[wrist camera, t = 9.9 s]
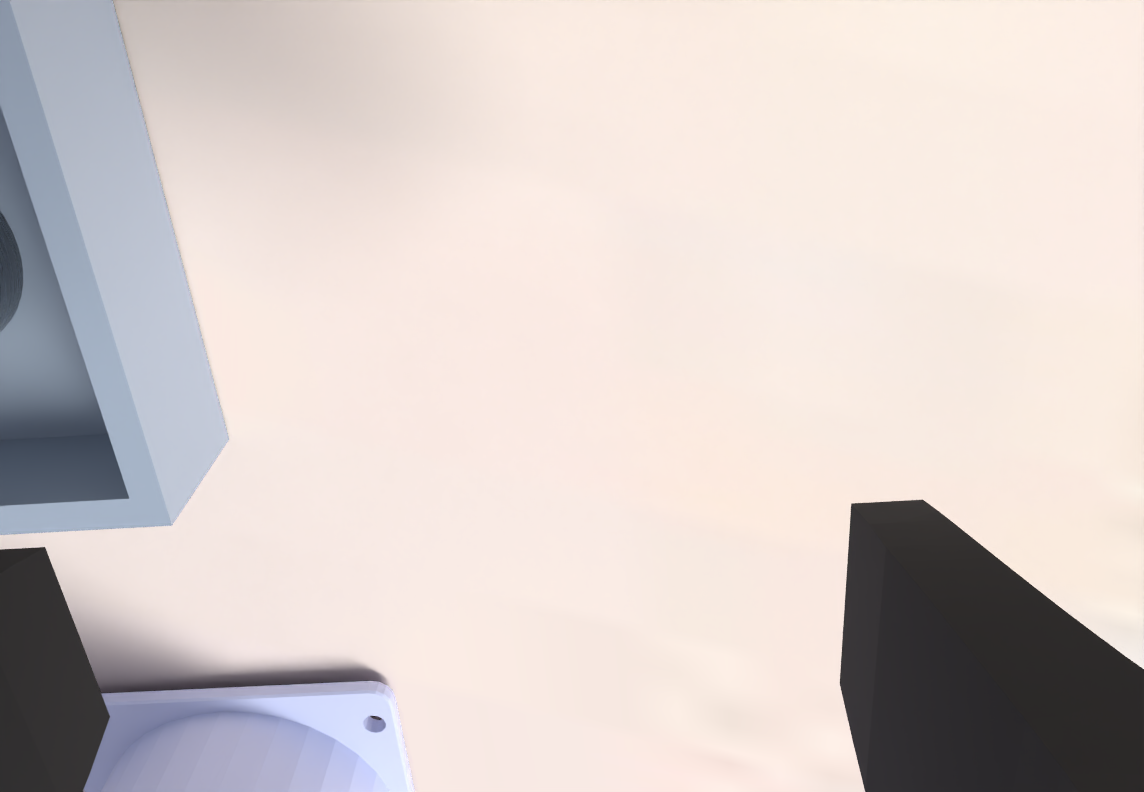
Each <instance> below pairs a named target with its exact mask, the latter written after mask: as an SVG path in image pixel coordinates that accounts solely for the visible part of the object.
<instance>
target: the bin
mask: <svg viewBox="0 0 1144 792" xmlns="http://www.w3.org/2000/svg"><path fill="white" fill-rule="evenodd" d="M0 211H1V212H2V214H3V215H4V217H5V219H6V220H7V222H8V224H9V226H10V228H11V230H12V232H13V234H14V237H15V239H16V242H17V244H18V248H19V251H20V255H21V259H22V266H23V289H22V295H21V299H20V302H19V305H18V308H17V310H16V312H15V314H14V316H13V318H12V319H11V321H10V322H9V323H8V325H7V326H6V327H5V328H4V329H3V330H2V331H1V332H0V535H6V534H25V533H43V532H61V531H79V530H98V529H116V528H134V527H152V526H171V525H173V523H174V522H175V520H176V519H177V517H178V516H179V514H180V513H181V511H182V510H183V508H184V507H185V505H186V504H187V502H188V501H189V499H190V498H191V496H192V495H193V493H194V492H195V490H196V489H197V487H198V485H199V484H200V482H201V481H202V479H203V478H204V476H205V475H206V473H207V472H208V470H209V469H210V467H211V466H212V464H213V463H214V461H215V460H216V458H217V457H218V455H219V454H220V452H221V451H222V449H223V448H224V446H225V445H226V443H227V442H228V440H229V437H228V433H227V429H226V425H225V422H224V418H223V414H222V410H221V407H220V403H219V399H218V395H217V392H216V388H215V384H214V380H213V376H212V373H211V369H210V365H209V361H208V358H207V354H206V350H205V346H204V343H203V339H202V335H201V331H200V328H199V324H198V320H197V316H196V312H195V309H194V305H193V301H192V297H191V294H190V290H189V286H188V282H187V279H186V275H185V271H184V267H183V263H182V260H181V256H180V252H179V248H178V245H177V241H176V237H175V233H174V230H173V226H172V222H171V218H170V215H169V211H168V207H167V203H166V199H165V196H164V192H163V188H162V184H161V181H160V177H159V173H158V169H157V166H156V162H155V158H154V154H153V150H152V147H151V143H150V139H149V135H148V132H147V128H146V124H145V120H144V117H143V113H142V109H141V105H140V102H139V98H138V94H137V90H136V86H135V83H134V79H133V75H132V71H131V68H130V64H129V60H128V56H127V53H126V49H125V45H124V41H123V37H122V34H121V30H120V26H119V22H118V19H117V15H116V11H115V7H114V4H113V0H0Z"/></svg>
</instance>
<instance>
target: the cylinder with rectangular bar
mask: <svg viewBox="0 0 1144 792" xmlns="http://www.w3.org/2000/svg"><path fill="white" fill-rule="evenodd" d="M22 289H23V266H22V259H21V255H20V251H19V248H18V244H17V242H16V239H15V237H14V234H13V232H12V230H11V228H10V226H9V224H8V222H7V220H6V219H5V217H4V215H3V214H2V212H1V211H0V332H1V331H2V330H3V329H4V328H5V327H6V326H7V325H8V323H9V322H10V321H11V319H12V318H13V316H14V314H15V312H16V310H17V308H18V305H19V302H20V299H21V295H22Z"/></svg>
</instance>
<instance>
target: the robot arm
mask: <svg viewBox="0 0 1144 792" xmlns="http://www.w3.org/2000/svg"><path fill="white" fill-rule="evenodd" d="M840 686H841V691H842V695H843V699H844V704H845V708H846V713H847V717H848V721H849V726H850V730H851V735H852V739H853V743H854V747H855V751H856V755H857V760H858V764H859V768H860V772H861V776H862V780H863V784H864V788H865V792H1144V669H1142V668H1141V667H1140V666H1138V665H1137V664H1135V663H1134V662H1133V661H1131V660H1130V659H1128V658H1127V657H1126V656H1124V655H1123V654H1122V653H1120V652H1119V651H1117V650H1116V649H1115V648H1113V647H1112V646H1111V645H1109V644H1108V643H1107V642H1105V641H1104V640H1103V639H1101V638H1100V637H1098V636H1097V635H1096V634H1094V633H1093V632H1092V631H1091V630H1089V629H1088V628H1087V627H1085V626H1084V625H1083V624H1081V623H1080V622H1079V621H1077V620H1076V619H1075V618H1073V617H1072V616H1071V615H1069V614H1068V613H1067V612H1065V611H1064V610H1063V609H1062V608H1060V607H1059V606H1058V605H1056V604H1055V603H1054V602H1053V601H1051V600H1050V599H1049V598H1047V597H1046V596H1045V595H1043V594H1042V593H1041V592H1040V591H1038V590H1037V589H1036V588H1034V587H1033V586H1032V585H1031V584H1029V583H1028V582H1027V581H1026V580H1024V579H1023V578H1022V577H1021V576H1019V575H1018V574H1017V573H1016V572H1014V571H1013V570H1012V569H1010V568H1009V567H1008V566H1007V565H1005V564H1004V563H1003V562H1002V561H1000V560H999V559H998V558H997V557H995V556H994V555H993V554H992V553H990V552H989V551H988V550H987V549H985V548H984V547H983V546H982V545H980V544H979V543H978V542H977V541H975V540H974V539H973V538H972V537H970V536H969V535H968V534H967V533H965V532H964V531H963V530H962V529H960V528H959V527H958V526H957V525H955V524H954V523H953V522H951V521H950V520H949V519H948V518H946V517H945V516H944V515H942V514H941V513H940V512H939V511H937V510H936V509H935V508H933V507H932V506H931V505H929V504H928V503H927V502H925V501H924V500H911V501H892V502H874V503H855V504H851V519H850V534H849V550H848V565H847V581H846V596H845V612H844V627H843V643H842V658H841V674H840ZM369 716H379V717H380V718H382V720H376V719H373V718H371V717H369ZM83 790H84V792H415V790H414V786H413V781H412V776H411V771H410V766H409V761H408V756H407V752H406V747H405V742H404V737H403V732H402V727H401V722H400V718H399V713H398V708H397V703H396V698H395V695H394V693H393V691H392V689H390V688H389V687H388V686H387V685H385V684H383V683H381V682H377V681H357V682H335V683H314V684H293V685H271V686H250V687H229V688H207V689H186V690H165V691H144V692H122V693H101V692H100V689H99V686H98V684H97V681H96V679H95V676H94V673H93V671H92V668H91V666H90V663H89V660H88V658H87V655H86V653H85V650H84V647H83V645H82V642H81V640H80V637H79V634H78V632H77V629H76V627H75V624H74V621H73V619H72V616H71V614H70V611H69V608H68V606H67V603H66V601H65V598H64V595H63V593H62V590H61V588H60V585H59V582H58V580H57V577H56V575H55V572H54V569H53V567H52V564H51V562H50V559H49V556H48V554H47V551H46V549H45V547H40V548H22V549H3V550H0V792H83Z"/></svg>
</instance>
